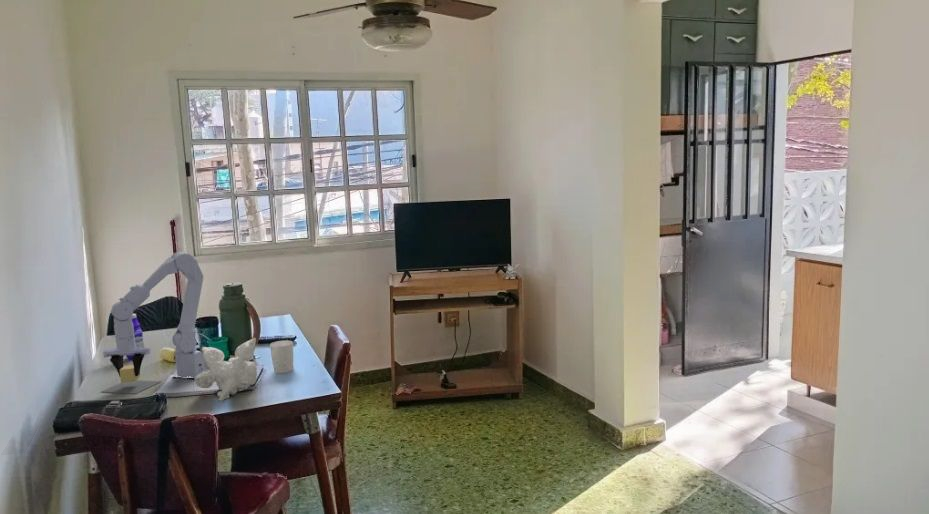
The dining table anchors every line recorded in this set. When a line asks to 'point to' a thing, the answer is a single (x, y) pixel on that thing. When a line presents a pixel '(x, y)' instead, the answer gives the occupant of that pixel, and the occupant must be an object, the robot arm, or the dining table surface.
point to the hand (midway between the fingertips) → (129, 375)
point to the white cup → (282, 356)
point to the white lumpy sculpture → (229, 370)
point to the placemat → (131, 387)
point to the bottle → (137, 334)
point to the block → (128, 374)
